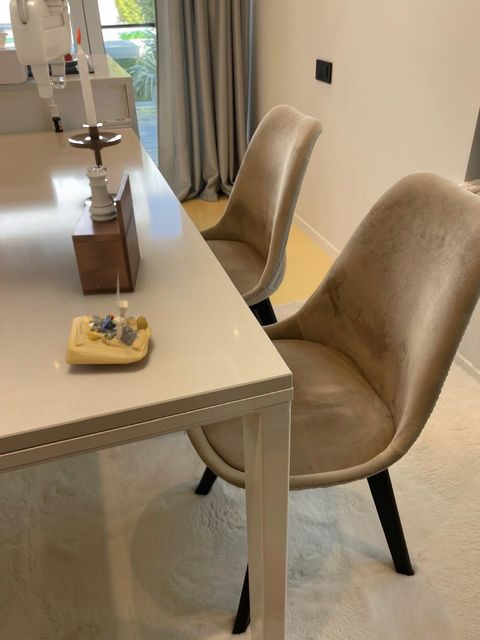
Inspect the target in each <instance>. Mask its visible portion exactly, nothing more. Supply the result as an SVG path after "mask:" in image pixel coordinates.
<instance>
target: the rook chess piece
mask: <svg viewBox="0 0 480 640" xmlns="http://www.w3.org/2000/svg"><path fill="white" fill-rule="evenodd" d="M104 167H105V166H99V168H100V169H99V168H98V166H96V165H93V166H92V165H89V166H88V167H86V170H87V171H86V173H85V177H87V179H88V180H89V183H88V185H89V187H90V191H91V196H92V202H91V204H90V205H91V206H90V207H89V212H90V213H91V214H90V216H89V217H90V218H91V219H92V220H93V221H95V222H107V221H111V220H114V219H115V218H116V217H117V212H115V211H116V206H115V205H114V204H113V203H112V201H111V199H110V197H109V194H110V193H109V191H108V186H107V185H108V182H106V180H105V179H106V177H107V175H108V172H106V171H105V170H104ZM108 193H109V194H108Z"/></svg>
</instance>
